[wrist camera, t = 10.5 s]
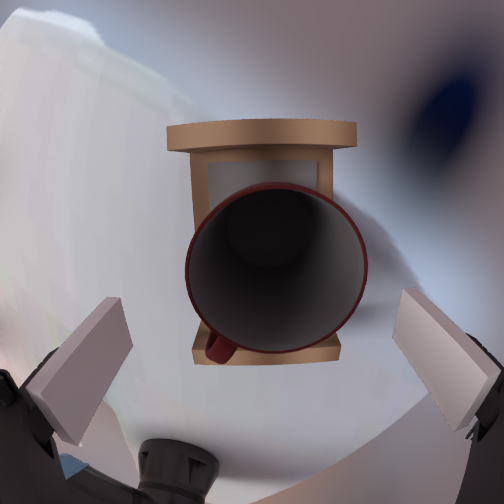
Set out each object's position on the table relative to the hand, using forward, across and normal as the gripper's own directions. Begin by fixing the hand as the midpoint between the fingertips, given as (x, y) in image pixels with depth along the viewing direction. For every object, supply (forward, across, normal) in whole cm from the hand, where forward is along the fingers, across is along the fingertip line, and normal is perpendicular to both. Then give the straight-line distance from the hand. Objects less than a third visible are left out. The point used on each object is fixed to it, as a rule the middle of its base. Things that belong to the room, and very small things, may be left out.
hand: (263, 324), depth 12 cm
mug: (+13, 0, 0) cm, 13 cm away
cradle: (+14, 0, +1) cm, 14 cm away
